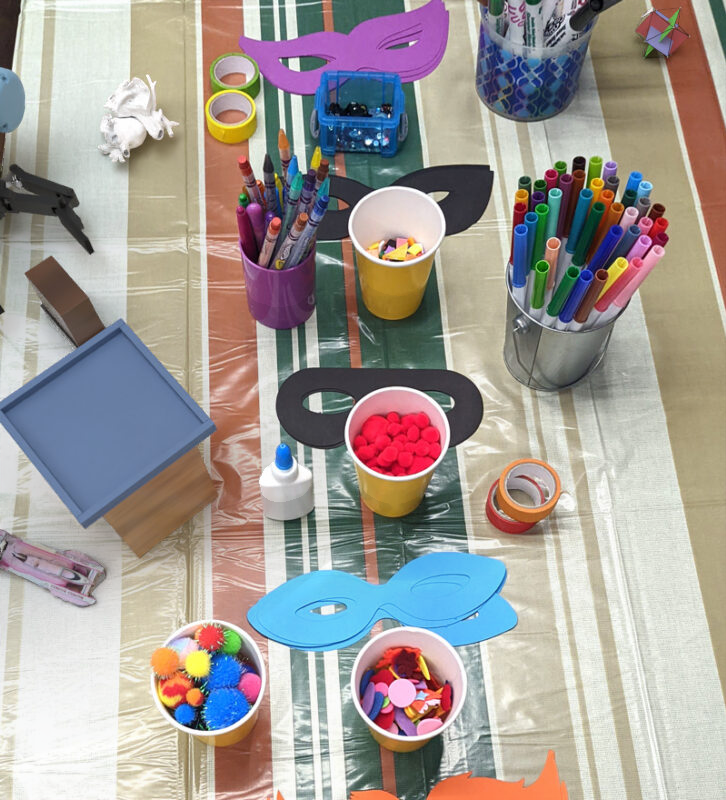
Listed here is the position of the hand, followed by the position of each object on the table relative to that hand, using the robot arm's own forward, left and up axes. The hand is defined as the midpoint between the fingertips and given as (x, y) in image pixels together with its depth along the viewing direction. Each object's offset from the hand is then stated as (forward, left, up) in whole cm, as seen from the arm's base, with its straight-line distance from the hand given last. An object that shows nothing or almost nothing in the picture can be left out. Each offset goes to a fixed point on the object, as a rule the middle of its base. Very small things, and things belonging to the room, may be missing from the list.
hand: (44, 277), depth 111 cm
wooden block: (+22, -20, -7) cm, 31 cm away
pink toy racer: (+15, -33, -7) cm, 37 cm away
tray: (+22, -20, +13) cm, 33 cm away
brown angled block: (+4, -2, -7) cm, 8 cm away
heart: (-2, +29, -7) cm, 30 cm away
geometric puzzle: (+65, +70, -7) cm, 96 cm away
